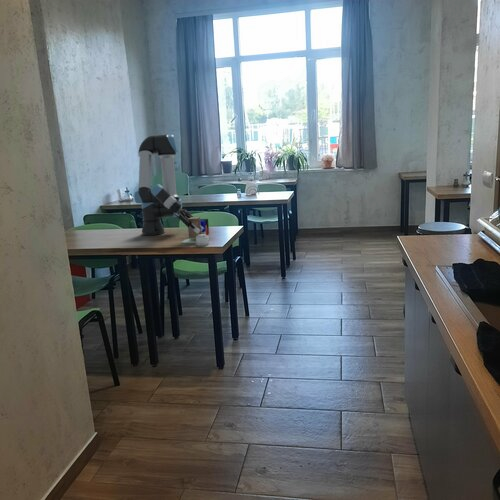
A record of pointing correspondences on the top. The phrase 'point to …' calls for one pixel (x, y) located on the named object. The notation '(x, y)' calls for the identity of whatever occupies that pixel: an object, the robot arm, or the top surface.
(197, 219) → the walnut block
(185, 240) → the pad
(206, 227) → the puzzle toy
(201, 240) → the sugar bowl
